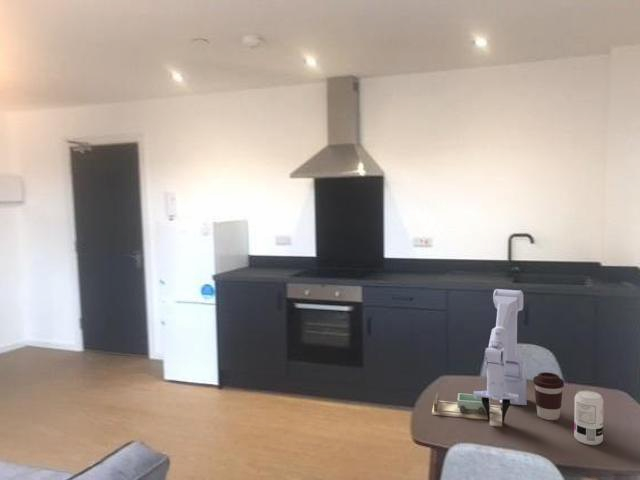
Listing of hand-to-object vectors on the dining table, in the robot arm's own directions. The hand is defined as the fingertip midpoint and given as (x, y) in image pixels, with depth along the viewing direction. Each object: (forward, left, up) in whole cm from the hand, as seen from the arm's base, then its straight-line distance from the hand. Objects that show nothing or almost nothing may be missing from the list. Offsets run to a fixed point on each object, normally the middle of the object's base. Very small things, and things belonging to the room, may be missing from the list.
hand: (495, 419), depth 181 cm
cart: (+7, -8, 0) cm, 11 cm away
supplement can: (-28, +6, -2) cm, 29 cm away
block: (0, 0, -1) cm, 1 cm away
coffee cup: (-18, -10, -2) cm, 21 cm away
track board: (+10, -8, -1) cm, 13 cm away
